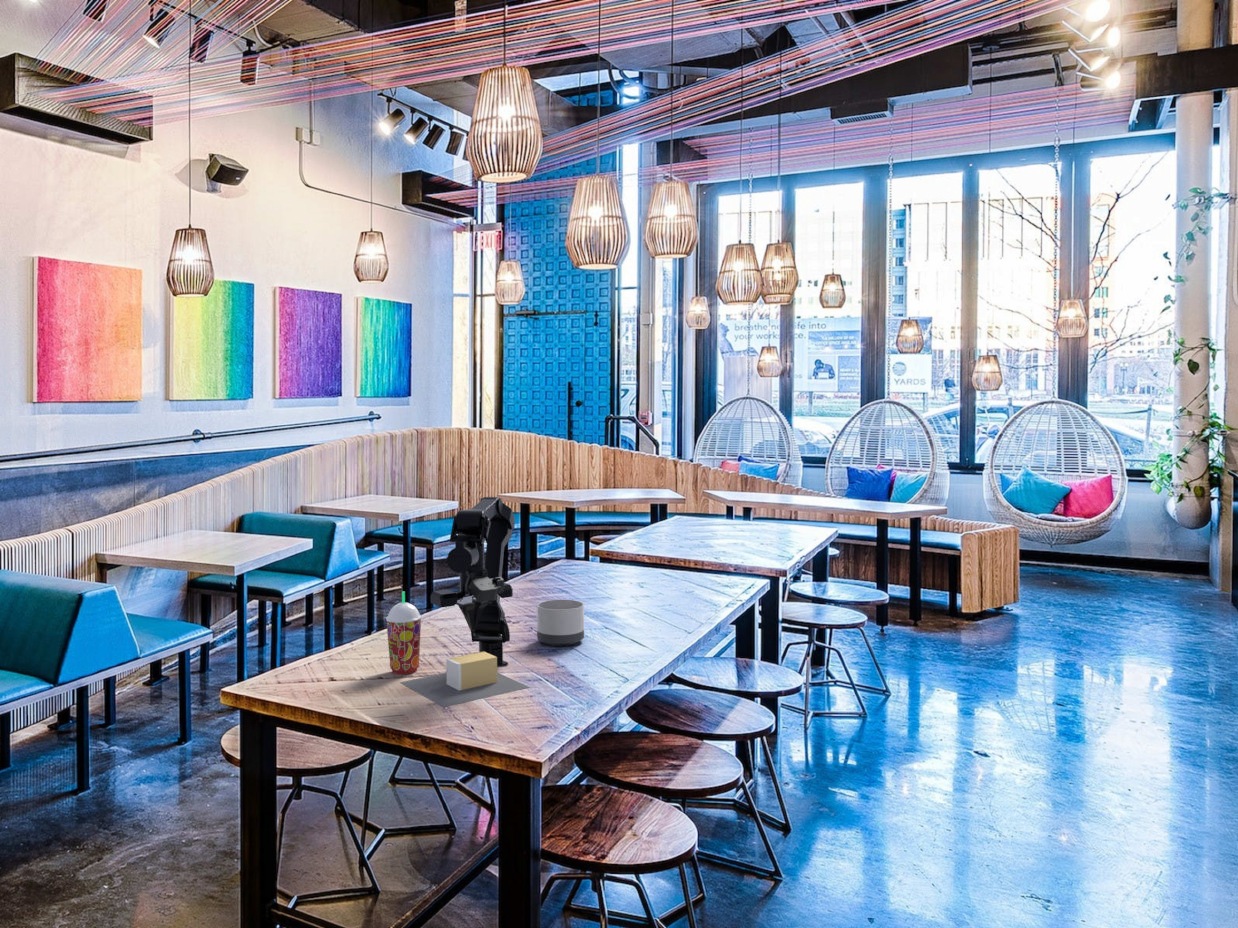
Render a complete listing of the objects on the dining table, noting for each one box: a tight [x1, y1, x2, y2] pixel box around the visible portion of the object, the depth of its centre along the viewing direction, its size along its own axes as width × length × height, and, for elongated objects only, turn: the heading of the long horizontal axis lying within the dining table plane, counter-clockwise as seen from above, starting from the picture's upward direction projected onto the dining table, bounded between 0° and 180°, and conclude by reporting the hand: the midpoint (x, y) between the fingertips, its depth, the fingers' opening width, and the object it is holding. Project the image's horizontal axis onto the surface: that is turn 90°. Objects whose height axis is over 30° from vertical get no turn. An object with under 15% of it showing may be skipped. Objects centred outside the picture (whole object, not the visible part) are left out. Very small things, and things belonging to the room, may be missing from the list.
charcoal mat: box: [399, 671, 531, 708], centre depth 215 cm, size 22×22×1 cm
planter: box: [536, 599, 585, 647], centre depth 254 cm, size 13×13×10 cm
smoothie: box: [385, 591, 422, 675], centre depth 226 cm, size 8×8×20 cm
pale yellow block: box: [445, 651, 498, 690], centre depth 216 cm, size 6×6×10 cm
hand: (472, 630), depth 216 cm, fingers closed
